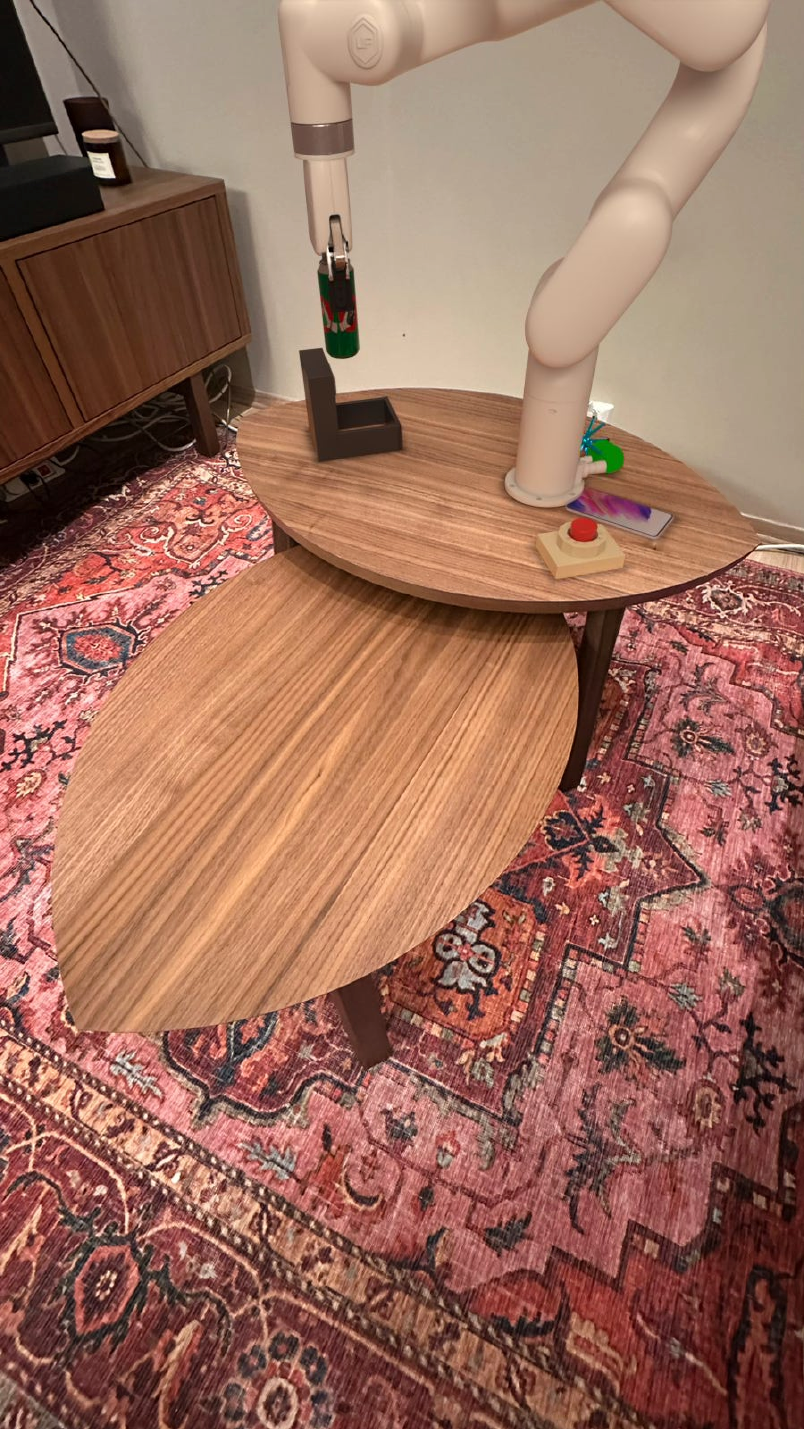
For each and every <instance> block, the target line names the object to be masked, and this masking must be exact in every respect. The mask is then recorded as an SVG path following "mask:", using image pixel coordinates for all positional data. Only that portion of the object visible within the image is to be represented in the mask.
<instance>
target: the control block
mask: <svg viewBox="0 0 804 1429" xmlns="http://www.w3.org/2000/svg"><path fill="white" fill-rule="evenodd" d="M572 521H573V520H570V521H566V522H565V523H564V524H562V525H560V526H559V529H558V530H555V531H547V532H542V533H537V534H536V539H535V546H534V547H535V549H536V550H537V552H538V554H539V556H540V557H541V558H542V560H543V562H544V564H545V565H546V566H547V568H548V570H549V571H550V573H551V574H552V576H553V578H554V579H555V580H559V579H565V578H571V577H578V576H584V575H589V574H595V573H602V572H607V571H612V570H613V571H614V570H618V569H623V568H624V564H625V561H626V558H627V555H626V553H625V552H624V550H623V549H622V547H620V545H619V544H618V543H617V541H616V540H615V539H614V537H613V536H612V535H611V533H610V532H609V531H608V529H607V528H606V527H605V526H604V523H597V525H598V528H597V533H596V537H595V539H594V540H593V541H590V542H579V541H575V540H573V539H571V538H570V536H569V532H570V527H571V523H572Z"/></svg>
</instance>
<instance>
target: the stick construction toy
mask: <svg viewBox="0 0 804 1429" xmlns="http://www.w3.org/2000/svg"><path fill="white" fill-rule="evenodd" d="M591 417H592V419H591V420H590V423H589V425H588V428H587V429H586V431H585V433H584V434H583V440H582V445H581V451H580V453H582V450H583V449H584V452H585V456H592V462H594V461H601V460H605V462H606V464H607V469H606V472H605V473H604V474H614V473H617V472H619V471H620V470H621V469H622V468H624V464H625V454H624V451H623V450H622V448H621V447H619V445H617V444H614V443H613V442H612V441H611V438H609V437H607V438H591V437H592V436H593V435H595V434H596V433H597V432H599V430H601V429H602V428H603V427H606V426H607V424H606V422H602V423H600V424H599V425H598V426H596V427H595V428H594V429H593V426H594V423H595V420H596V416H595V415H594V414H593V415H592V416H591Z"/></svg>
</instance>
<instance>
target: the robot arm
mask: <svg viewBox="0 0 804 1429" xmlns="http://www.w3.org/2000/svg"><path fill="white" fill-rule="evenodd" d="M601 1H602V2H603V3H605V4H606V6H608V7H609V8H611V10H612V11H614V12H615V13H616V14H618V15H619V16H620V17H622V18H623V19H624V20H625V21H627V22H628V23H629V24H631V25H632V26H633V27H634V28H636V29H637V30H638V31H640V32H641V33H643V34H644V35H646V36H647V37H648V38H649V39H651V40H652V41H654V42H655V43H656V44H657V45H659V46H660V47H662V49H664V50H665V51H666V52H668V53H669V54H670V55H672V56H673V57H675V59H677V60H678V61H679V64H678V68H677V72H676V75H675V78H674V80H673V83H672V85H671V87H670V89H669V91H668V93H667V95H666V96H665V98H664V100H663V101H662V103H661V105H660V106H659V108H658V109H657V111H656V112H655V114H654V115H653V117H652V119H651V120H650V121H649V124H648V125H647V127H646V128H645V130H644V132H643V133H642V135H641V136H640V138H639V140H638V141H637V142H636V144H635V145H634V146H633V148H632V149H631V151H630V152H629V153H628V155H627V156H626V158H625V160H623V162H622V164H621V165H620V167H619V168H618V170H617V171H616V173H615V174H614V175H613V177H611V179H610V181H608V183H607V184H606V185H605V186H604V188H603V189H602V190H601V191H600V193H599V194H598V195H597V197H596V198H595V200H594V202H593V205H592V208H591V210H590V212H589V215H588V220H587V222H586V224H585V225H584V227H583V228H582V230H581V231H580V232H579V234H578V236H576V239H575V241H574V242H573V244H571V247H570V248H569V249H568V251H567V252H566V253H565V255H564V257H561V258H559V259H558V260H556V261H554V262H553V263H552V264H551V265H550V266H549V267H547V269H546V270H545V271H544V272H543V274H542V275H541V276H540V278H539V279H538V281H537V283H536V286H535V289H534V291H533V295H532V297H531V300H530V303H529V307H528V310H527V313H526V317H525V321H524V322H525V323H524V334H525V335H524V336H525V341H526V344H527V347H528V352H527V361H526V368H525V377H524V386H523V395H522V406H521V415H520V422H519V434H518V445H517V453H516V464H515V466H514V467H513V468H511V469H510V470H509V471H508V472H507V473H506V475H505V478H504V484H503V485H504V489H505V491H506V493H507V494H508V496H510V497H511V498H512V499H514V500H515V501H517V502H518V503H521V504H524V505H527V506H530V507H531V506H532V507H536V508H560V507H563V506H566V505H567V504H568V503H570V502H573V501H574V500H576V499H577V498H579V497H580V496H581V494H582V493H583V490H584V488H585V484H586V483H585V478H588V476H589V475H599V474H606V473H605V472H606V469H607V464H606V462H605V460H601V461H594V462H592V456H586V455H585V456H581V452H582V450H581V445H582V440H583V434H584V435H585V429H586V422H587V416H588V411H589V405H590V400H591V394H592V390H593V384H594V378H595V372H596V367H597V361H598V355H599V349H600V345H601V342H603V341H604V339H605V338H606V337H607V335H609V333H610V331H611V330H612V329H613V328H614V327H615V325H617V323H618V321H619V320H620V319H621V318H622V317H623V315H625V313H626V311H627V310H628V309H629V308H630V307H631V306H632V304H633V303H634V302H635V300H636V299H637V297H639V295H640V294H641V292H642V291H643V290H644V289H645V287H646V286H647V285H648V283H649V282H650V281H651V280H652V278H653V277H654V275H655V274H656V272H657V271H658V269H659V267H660V266H661V264H662V262H663V261H664V259H665V257H666V254H667V253H668V250H669V247H670V243H671V240H672V235H673V224H674V221H675V220H676V218H677V217H678V215H679V214H680V213H681V211H682V209H683V208H684V206H685V205H686V204H687V202H688V201H689V200H690V198H691V197H692V196H693V194H694V193H695V192H696V190H697V189H698V188H699V187H700V185H701V184H702V182H703V181H704V179H706V176H707V175H708V174H709V172H710V170H711V169H712V168H713V167H714V165H715V164H716V162H718V161H719V158H720V157H721V155H722V154H723V153H724V152H725V150H726V148H728V145H729V144H730V142H731V141H732V140H733V138H734V136H735V135H736V133H737V132H738V130H739V128H740V126H741V124H742V123H743V120H744V118H745V117H746V114H747V113H748V110H749V108H750V106H751V103H752V102H753V99H754V96H755V93H756V90H757V88H758V84H759V80H760V77H761V73H762V70H763V66H764V65H763V64H764V60H765V54H766V49H767V42H768V41H767V40H768V15H769V12H770V8H771V3H772V0H281V1H280V2H279V4H278V8H277V9H278V10H277V20H278V21H277V22H278V30H279V31H278V32H279V39H280V47H281V56H282V65H283V73H284V82H285V88H286V97H287V98H286V99H287V105H288V114H289V122H290V132H291V140H292V146H293V156H294V158H295V159H298V160H302V169H303V183H304V193H305V203H306V204H305V205H306V214H307V222H308V223H307V224H308V235H309V241H310V243H311V246H312V248H313V251H314V253H315V254H316V255H317V256H318V257H321V259H323V258H326V259H327V267H328V275H329V279H327V286H328V295H329V305H330V311H331V312H332V313H339V312H348V311H352V310H353V300H352V287H351V278H350V274H349V265H348V258H349V256H348V254H349V253H350V252H351V251H352V250H353V227H352V226H353V225H352V211H351V199H350V198H351V196H350V187H349V185H350V184H349V173H348V162H347V158H349V157H352V156H353V155H354V154H355V153H356V150H355V134H354V133H355V132H354V121H353V119H354V118H353V104H352V93H351V92H352V90H351V84H354V85H360V86H366V87H378V86H382V85H384V84H387V83H388V82H391V81H392V80H394V79H395V78H397V77H399V76H401V75H403V74H405V73H408V72H410V71H413V70H414V69H416V68H419V67H421V66H423V65H425V64H428V63H431V62H433V61H435V60H438V59H440V58H442V57H445V56H448V55H449V54H452V53H455V52H457V51H460V50H463V49H465V48H469V47H471V46H473V45H477V44H481V43H487V42H501V41H504V40H507V39H510V38H512V37H515V36H518V35H521V34H523V33H525V32H527V31H530V30H532V29H534V28H536V27H539V26H542V25H544V24H547V23H550V22H551V21H553V20H556V19H559V18H561V17H565V16H566V15H568V14H571V13H573V12H576V11H578V10H581V9H584V8H586V7H588V6H591V5H594V4H596V3H598V2H601ZM331 258H334V259H335V261H333V262H331ZM580 451H581V452H580Z"/></svg>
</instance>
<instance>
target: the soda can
mask: <svg viewBox="0 0 804 1429" xmlns="http://www.w3.org/2000/svg"><path fill="white" fill-rule="evenodd" d="M333 261H335V259H334V258H331V262H333ZM348 265H349V274H350V278H351V287H352V300H353V310H352V311H348V312H339V313H332V312H331V311H330V305H329V295H328V286H327V279H329V275H328V267H327V259H326V258H323V259H322V258H321V259H320V260H319V261H318V268H317V270H316V273H317V282H318V290H319V299H320V310H321V319H322V325H323V326H322V327H323V335H324V343H325V351H326V353H327V354H328V355H329V357H331V358H333V359H336V360H346V359H351V358H353V357H355V356H356V355H357V354H359V351H360V350H361V345H360V331H359V318H358V306H357V305H358V304H357V293H356V281H355V280H356V279H355V268H354V266H353V265H352V263H351V259H350V258H349V257H348Z"/></svg>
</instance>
